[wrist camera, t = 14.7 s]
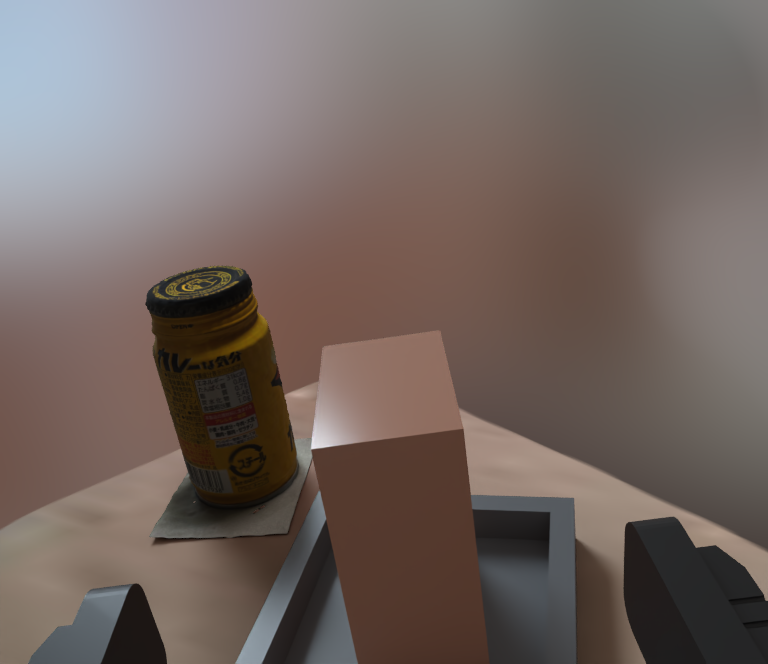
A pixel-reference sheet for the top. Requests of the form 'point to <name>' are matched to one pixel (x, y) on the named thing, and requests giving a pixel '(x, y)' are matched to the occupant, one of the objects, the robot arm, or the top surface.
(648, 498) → the top surface
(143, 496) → the top surface
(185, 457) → the condiment
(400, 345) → the brick
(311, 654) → the tray
